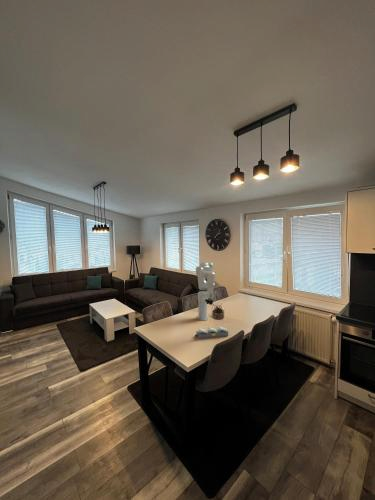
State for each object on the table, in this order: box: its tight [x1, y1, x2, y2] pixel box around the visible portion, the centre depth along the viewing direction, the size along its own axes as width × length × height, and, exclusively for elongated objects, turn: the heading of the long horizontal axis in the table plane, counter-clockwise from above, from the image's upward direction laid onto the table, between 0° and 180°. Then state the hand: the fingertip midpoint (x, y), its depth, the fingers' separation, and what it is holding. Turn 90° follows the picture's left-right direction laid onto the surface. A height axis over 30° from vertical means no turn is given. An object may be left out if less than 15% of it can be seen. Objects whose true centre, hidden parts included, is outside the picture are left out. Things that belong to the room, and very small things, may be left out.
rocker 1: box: [198, 327, 208, 333], centre depth 188 cm, size 4×8×2 cm, turn 105°
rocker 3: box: [216, 326, 228, 331], centre depth 192 cm, size 4×8×2 cm, turn 104°
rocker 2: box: [207, 326, 217, 332], centre depth 190 cm, size 4×8×2 cm, turn 104°
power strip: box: [194, 328, 229, 340], centre depth 191 cm, size 7×31×5 cm, turn 104°
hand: (210, 302), depth 199 cm, fingers open, 9 cm apart
